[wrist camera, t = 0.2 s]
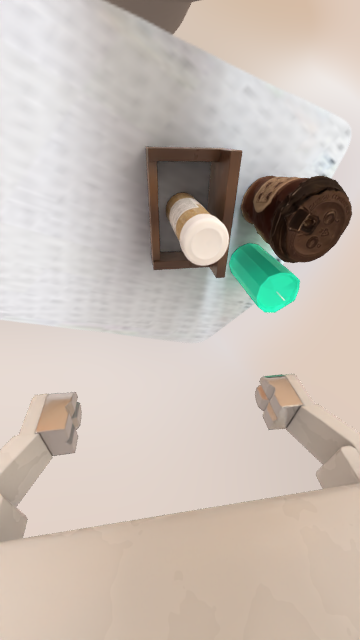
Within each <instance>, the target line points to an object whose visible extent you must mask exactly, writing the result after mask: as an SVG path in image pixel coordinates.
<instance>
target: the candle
mask: <svg viewBox="0 0 360 640" xmlns="http://www.w3.org/2000/svg"><path fill="white" fill-rule="evenodd" d="M229 265H230V269H231V272H232V274H233V275H234V276H235V278H236V279H237V280H238V282H239V283H240V284H241V286H242V287H243V288H244V289H245V291H246V292H247V293H248V295H249V296H250V297H251V299H252V300H253V301H254V302H255V304H256V305H257V306H258V307H259V308H260V309H261V310H263V311H264V312H276V311H278V310H280V309H281V308H283V307H285V306H286V305H288V304H289V303H291V302H292V301H294V300H295V298H296V296H297V293H298V290H299V284H300V280H299V279H298V278H297V277H296V276H295V275H294V274H293V273H292V272H290V271H289V270H288V269H287V268H286V267H284V266H283V265H282V264H281V263H280V262H278V261H277V260H276V259H275V258H273V257H272V256H271V255H270V254H269V253H267V252H266V251H265V250H264V249H263V248H261V247H260V246H259V245H258V244H252V243H248V244H245V245H243V246H240V247H239V248H238V249H237V250H236V251H235V252H234V253H233V254H232V256H231V260H230V263H229Z"/></svg>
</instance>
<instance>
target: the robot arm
mask: <svg viewBox="0 0 360 640" xmlns="http://www.w3.org/2000/svg"><path fill="white" fill-rule="evenodd" d="M260 384H261V385H259V386H258V387H257V389H256V391H255V398H256V402H257V405H258V407H259V408H260V409H261V410H263V411H264V413H263V418H264V420H265V423H266V425H267V427H268V429H269V430H273V429H285V428H287V429H286V430H287V431H288V432H289V433H290V434H291V435H293V436H294V437H295V438H296V439H297V440H298V441H299V442H300V443H301V444H302V445H303V446H304V447H305V448H306V449H307V450H308V451H309V452H310V453H311V454H312V455H313V456H314V457H316V458H317V459H318V460H319V461H320V462H321V463H322V464H323V466H322V467H321V468H320V469H319V470H318V471H317V472H316V476H317V479H318V480H319V482H320V484H321V486H322V488H323V489H320V490H314V491H308V492H302V493H296V494H290V495H284V496H278V497H272V498H265V499H260V500H253V501H247V502H241V503H235V504H229V505H223V506H217V507H211V508H205V509H199V510H192V511H186V512H180V513H174V514H168V515H162V516H156V517H150V518H144V519H138V520H132V521H125V522H119V523H113V524H107V525H102V526H95V527H89V528H83V529H77V530H71V531H65V532H59V533H52V534H46V535H40V536H34V537H28V538H23V535H24V531H25V527H26V523H27V520H28V519H27V517H26V516H25V515H24V514H23V513H22V512H21V511H20V510H18V509H17V508H16V507H17V505H18V504H19V503H20V501H21V500H22V499H23V497H24V496H25V495H26V493H27V492H28V490H29V489H30V488H31V486H32V485H33V484H34V482H35V481H36V479H37V478H38V477H39V475H40V474H41V473H42V471H43V470H44V469H45V467H46V466H47V464H48V463H49V462H50V460H51V459H52V456H57V455H64V454H70V453H75V450H76V445H77V439H78V435H77V432H76V430H77V429H78V427H79V426H80V423H81V405H80V403H79V402H77V398H78V397H77V394H76V392H70V393H55V394H40V395H35V396H34V397H33V399H32V400H31V403H30V406H29V409H28V411H27V414H26V416H25V419H24V422H23V425H22V427H21V430H20V432H19V435H17V436H14V437H13V438H12V439H10V441H8V442H7V443H6V444H5V445H4V446H3V447H2V448H1V449H0V640H360V433H359V432H358V431H356V430H355V429H354V428H352V427H351V426H349V425H348V424H346V423H345V422H343V421H342V420H341V419H339V418H338V417H336V416H335V415H333V414H332V413H330V412H329V411H327V410H326V409H324V408H323V407H322V406H320V405H319V404H315V403H314V402H313V400H312V399H311V397H310V396H309V394H308V393H307V391H306V390H305V388H304V387H303V385H302V383H301V382H300V380H299V379H298V378H297V376H296V375H295V374H286V375H272V376H263V377H262V378H261V379H260Z"/></svg>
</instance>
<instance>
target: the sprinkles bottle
mask: <svg viewBox="0 0 360 640" xmlns="http://www.w3.org/2000/svg"><path fill="white" fill-rule="evenodd" d="M166 216H167V218H168V220H169V222H170V223H171V226H172V228H173V230H174V232H175V234H176V236H177V238H178V240H179V241H180V246H181V249H182V251H183V253H184V254H185V256H186V258H187V259H188V260H189V261H191V262H192V263H194V264H196V265H201V266H206V265H210V264H213V263H215V262H217V261H218V260H219V259H220V258H221V257H222V256H223V255H224V254H225V252H226V250H227V248H228V244H229V234H228V231H227V229H226V227H225V225H224V224H223V223H222V222H221V221H220V220H219V219H218V218H216V217H215V216H213V215H211V214H210V213H209V212H208V211H207V210H206V209H205V208H204V207H203V206H202V205H201V204H200V203H199V202H198V201H196V200H195V198H194V197H193V196H192V195H190V194H188V193H177V194H176V195H174V196H172V197H171V198H170V200H169V201H168V203H167V206H166Z"/></svg>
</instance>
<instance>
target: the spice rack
mask: <svg viewBox="0 0 360 640" xmlns="http://www.w3.org/2000/svg"><path fill="white" fill-rule="evenodd" d="M241 157H242V150H234V149H226V148H201V147H146V163H147V181H148V200H149V218H150V237H151V255H152V264H153V269H154V270H163V269H181V268H198V267H210V269H211V270H212V272H213V274H214V275H215V277H216V278H223V277H225V271H226V263H227V256H228V249H229V244H228V248H227V250H226V252H225V254H224V255H223V256H222V257H221V258H220V259H219V260H218V261H217V262H215V263H213V264H210V265H206V266H201V265H196V264H194V263H192V262H191V261H189V260H188V259H187V258H186V256H185V254H184V253H183V251H179V252H160V239H159V208H158V177H157V161H188V162H211V168H210V180H209V193H208V205H207V211H208V212H209V213H210V214H211V215H213V216H215V217H216V218H218V219H219V220H220V221H221V222H222V223H223V224H224V225H225V227H226V229H227V231H228V234H229V242H230V235H231V228H232V221H233V214H234V207H235V200H236V193H237V185H238V178H239V171H240V164H241Z"/></svg>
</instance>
